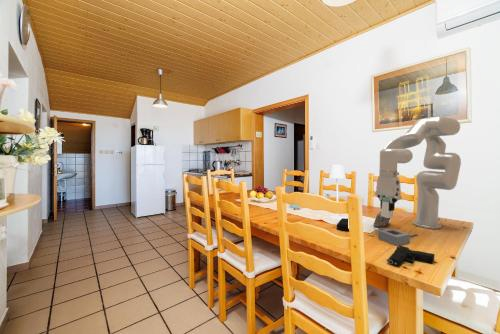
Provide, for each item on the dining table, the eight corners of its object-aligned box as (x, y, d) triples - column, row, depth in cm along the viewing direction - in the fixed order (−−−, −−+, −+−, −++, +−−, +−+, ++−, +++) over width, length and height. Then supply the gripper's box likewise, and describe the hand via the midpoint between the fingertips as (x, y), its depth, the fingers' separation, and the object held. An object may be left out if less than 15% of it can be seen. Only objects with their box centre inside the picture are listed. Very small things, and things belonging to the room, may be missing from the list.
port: (390, 236, 109) (391, 228, 109) (409, 242, 101) (410, 234, 101) (378, 238, 106) (378, 230, 106) (396, 245, 98) (397, 237, 98)
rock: (380, 229, 118) (383, 211, 118) (365, 224, 125) (368, 207, 125) (394, 229, 126) (397, 212, 126) (379, 224, 134) (382, 208, 134)
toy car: (356, 224, 128) (356, 216, 127) (350, 233, 114) (350, 223, 114) (342, 222, 132) (342, 214, 132) (335, 230, 119) (335, 221, 118)
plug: (386, 215, 114) (387, 196, 113) (392, 217, 110) (394, 198, 110) (381, 216, 112) (382, 197, 112) (387, 218, 109) (389, 198, 109)
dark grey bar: (415, 235, 111) (416, 234, 111) (417, 235, 110) (417, 234, 110) (401, 238, 106) (401, 237, 106) (403, 239, 106) (403, 237, 106)
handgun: (426, 278, 73) (385, 264, 82) (434, 261, 85) (398, 250, 94) (427, 269, 73) (386, 256, 82) (435, 252, 85) (398, 242, 93)
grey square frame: (383, 231, 116) (383, 227, 116) (396, 235, 110) (396, 232, 110) (375, 233, 113) (375, 229, 113) (387, 237, 107) (387, 233, 107)
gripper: (410, 174, 104) (409, 212, 105) (378, 172, 119) (377, 205, 120) (399, 175, 101) (398, 214, 102) (368, 172, 116) (367, 206, 117)
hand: (387, 209), depth 111 cm, fingers closed on plug, 3 cm apart
